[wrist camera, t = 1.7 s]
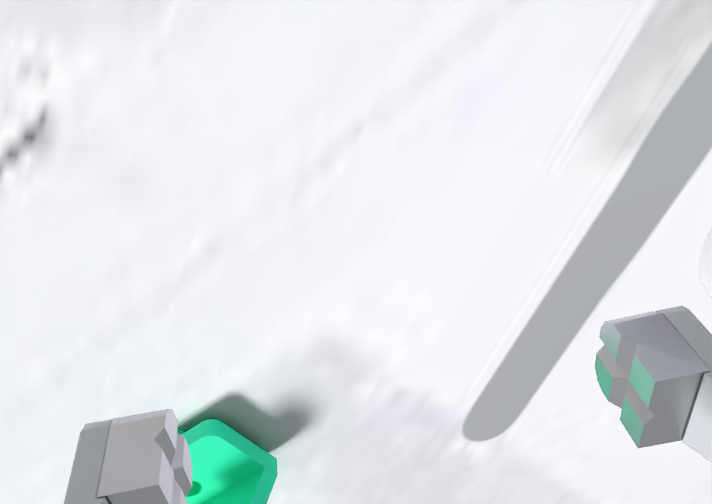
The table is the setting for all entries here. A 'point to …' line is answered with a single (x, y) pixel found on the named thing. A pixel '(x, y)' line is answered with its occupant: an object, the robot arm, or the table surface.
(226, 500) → the camera mount
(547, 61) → the table surface
